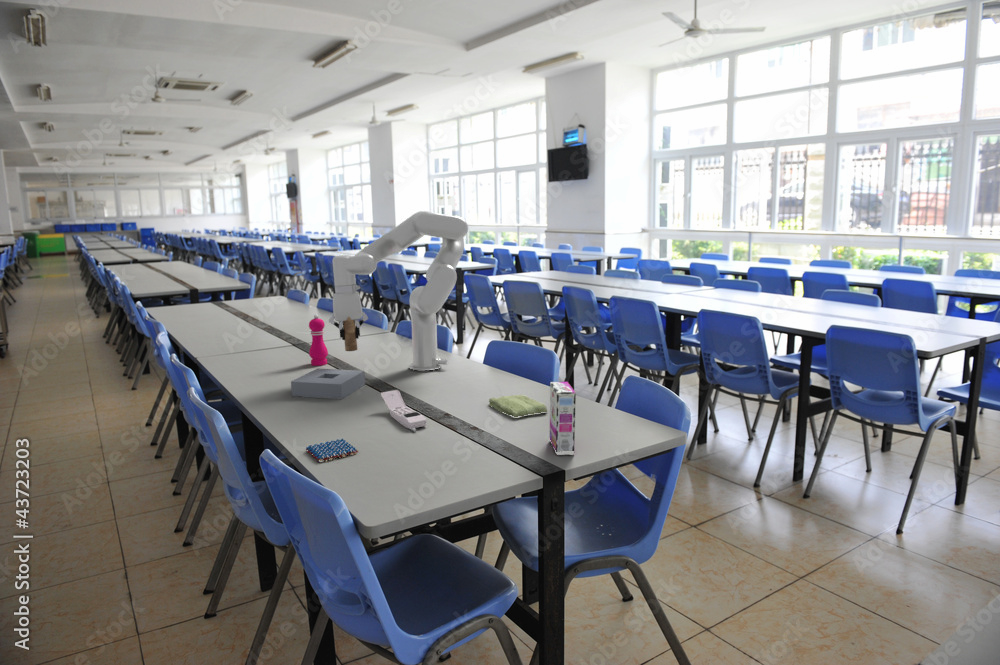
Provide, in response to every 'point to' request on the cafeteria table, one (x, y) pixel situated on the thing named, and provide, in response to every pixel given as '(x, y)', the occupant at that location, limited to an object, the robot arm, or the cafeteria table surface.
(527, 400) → the washcloth
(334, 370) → the socket block
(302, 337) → the cafeteria table surface
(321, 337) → the pepper mill
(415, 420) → the mobile phone
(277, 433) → the cafeteria table surface
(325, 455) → the woven mat
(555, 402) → the candy bar box
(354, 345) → the peg
